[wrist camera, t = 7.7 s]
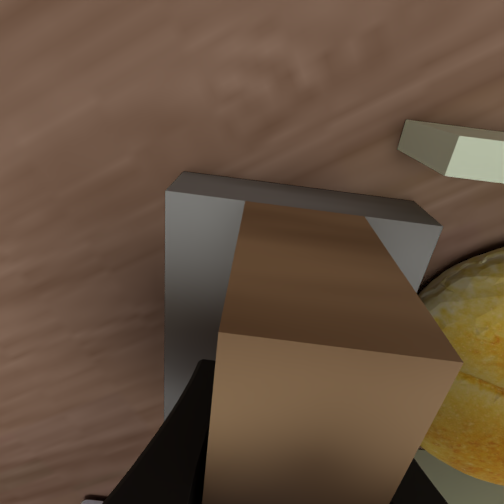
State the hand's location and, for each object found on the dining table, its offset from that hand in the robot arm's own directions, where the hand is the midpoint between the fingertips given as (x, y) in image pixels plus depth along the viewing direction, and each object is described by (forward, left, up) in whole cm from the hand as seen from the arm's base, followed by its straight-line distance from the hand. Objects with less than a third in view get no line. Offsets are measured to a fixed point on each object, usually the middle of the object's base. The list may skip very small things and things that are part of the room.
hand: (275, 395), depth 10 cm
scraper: (0, 0, -3) cm, 4 cm away
